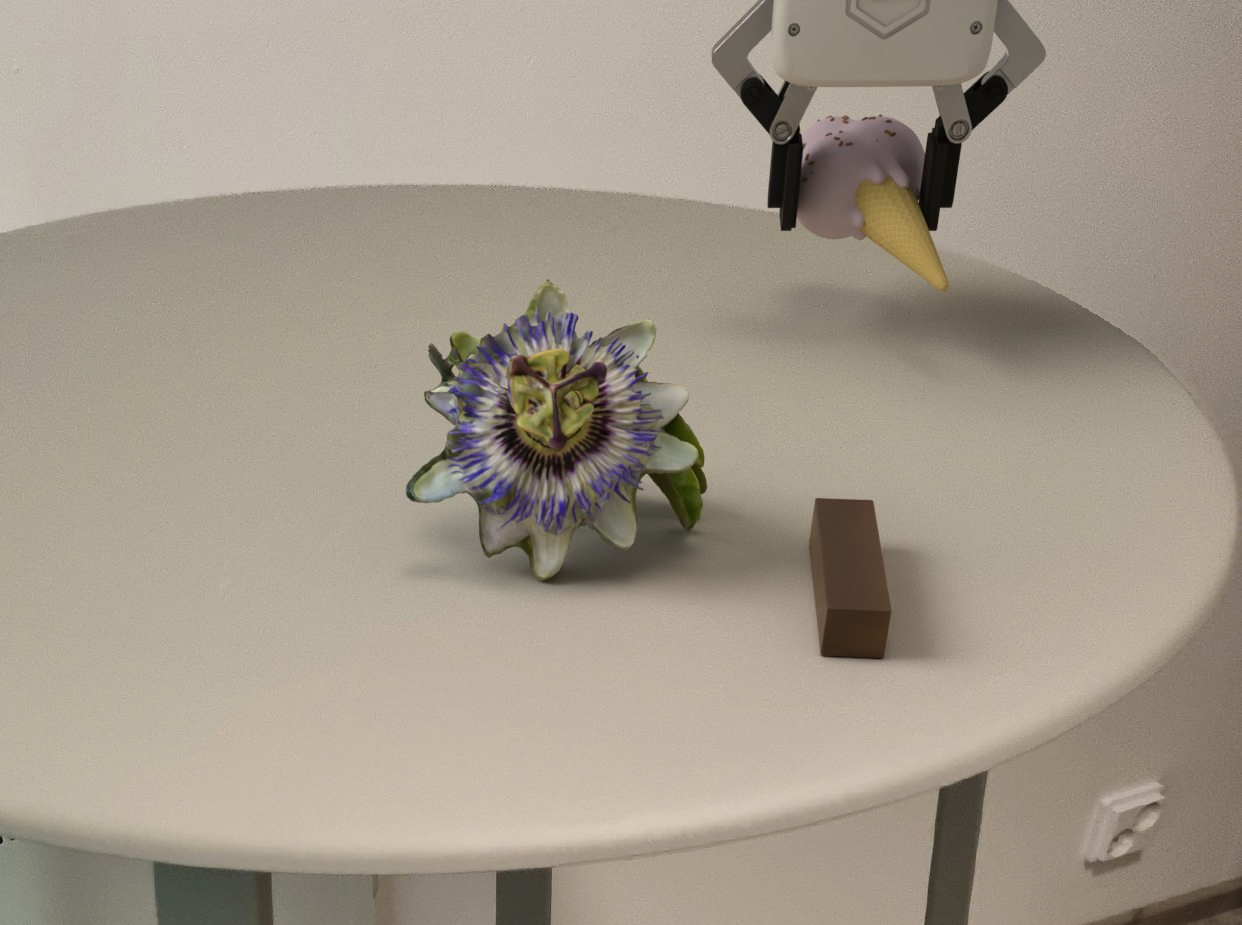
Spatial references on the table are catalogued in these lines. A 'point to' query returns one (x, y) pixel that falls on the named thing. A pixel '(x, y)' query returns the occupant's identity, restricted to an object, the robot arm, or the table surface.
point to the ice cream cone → (868, 189)
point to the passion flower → (558, 434)
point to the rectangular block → (849, 579)
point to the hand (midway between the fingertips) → (857, 219)
